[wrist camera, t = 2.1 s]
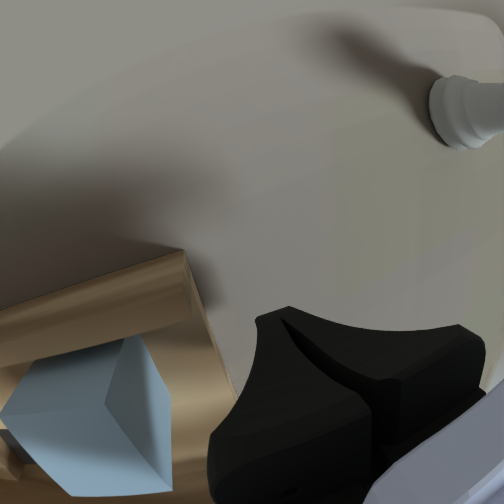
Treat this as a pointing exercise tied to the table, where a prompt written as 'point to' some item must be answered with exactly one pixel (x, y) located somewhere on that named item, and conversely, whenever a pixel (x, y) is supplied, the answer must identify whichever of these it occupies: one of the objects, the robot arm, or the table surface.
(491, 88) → the rook chess piece
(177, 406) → the board
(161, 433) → the blue block
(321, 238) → the table surface
